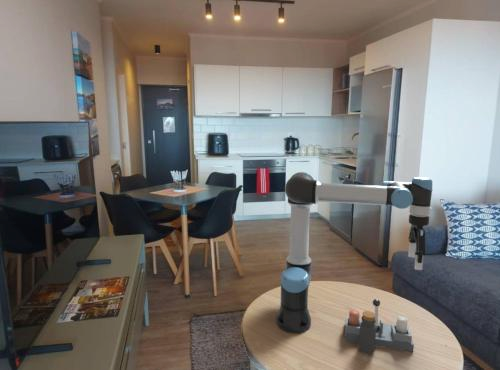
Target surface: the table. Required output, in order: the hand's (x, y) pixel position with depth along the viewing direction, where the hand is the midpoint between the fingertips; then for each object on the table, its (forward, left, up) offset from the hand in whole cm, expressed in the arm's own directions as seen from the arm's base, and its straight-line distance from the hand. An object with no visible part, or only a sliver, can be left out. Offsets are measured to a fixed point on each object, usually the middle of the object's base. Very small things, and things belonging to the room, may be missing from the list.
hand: (414, 263), depth 142 cm
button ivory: (-6, -16, -22) cm, 28 cm away
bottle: (-19, -24, -28) cm, 42 cm away
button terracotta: (-24, -16, -22) cm, 37 cm away
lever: (-15, -14, -24) cm, 32 cm away
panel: (-15, -14, -28) cm, 35 cm away
